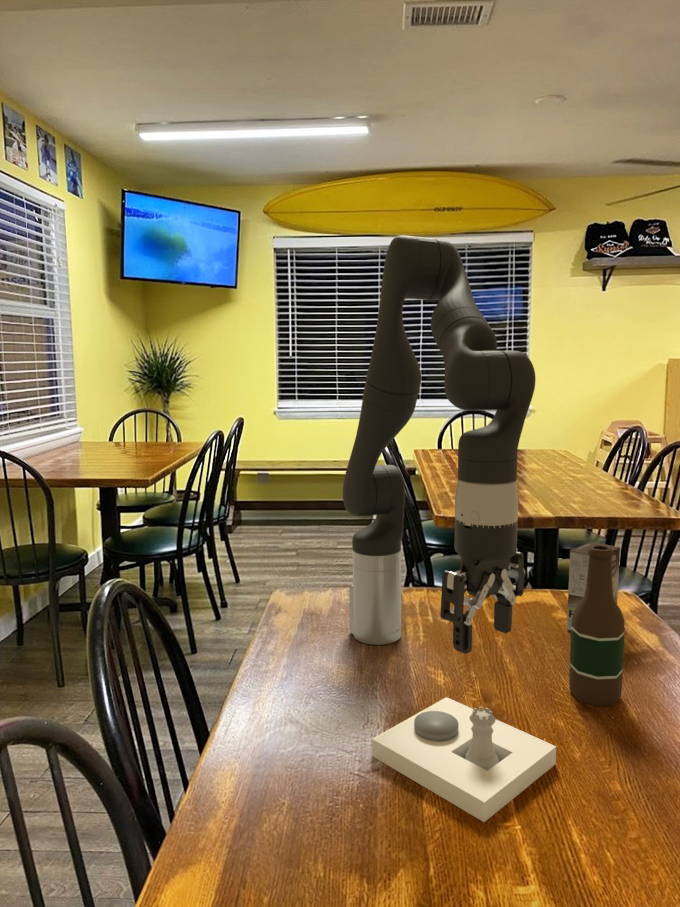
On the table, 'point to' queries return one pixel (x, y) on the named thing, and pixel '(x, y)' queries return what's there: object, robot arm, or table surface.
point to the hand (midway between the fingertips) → (483, 640)
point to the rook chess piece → (482, 739)
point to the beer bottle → (597, 636)
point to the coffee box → (579, 576)
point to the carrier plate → (463, 758)
